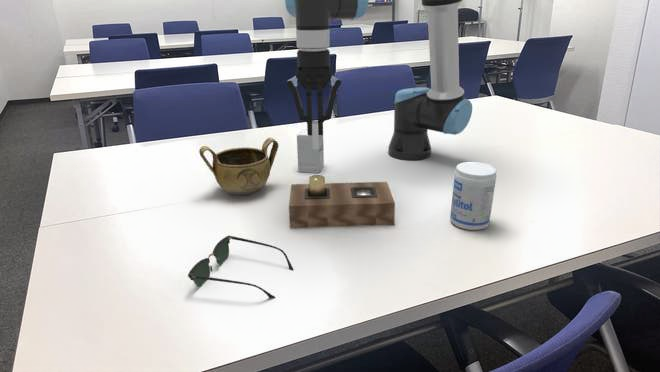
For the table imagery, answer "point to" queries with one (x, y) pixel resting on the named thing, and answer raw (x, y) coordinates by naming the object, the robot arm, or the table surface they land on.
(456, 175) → the supplement tub
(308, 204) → the walnut block
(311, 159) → the supplement box
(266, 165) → the ceramic bowl
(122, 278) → the table surface
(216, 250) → the sunglasses
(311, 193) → the brass peg
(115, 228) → the table surface
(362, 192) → the steel peg
